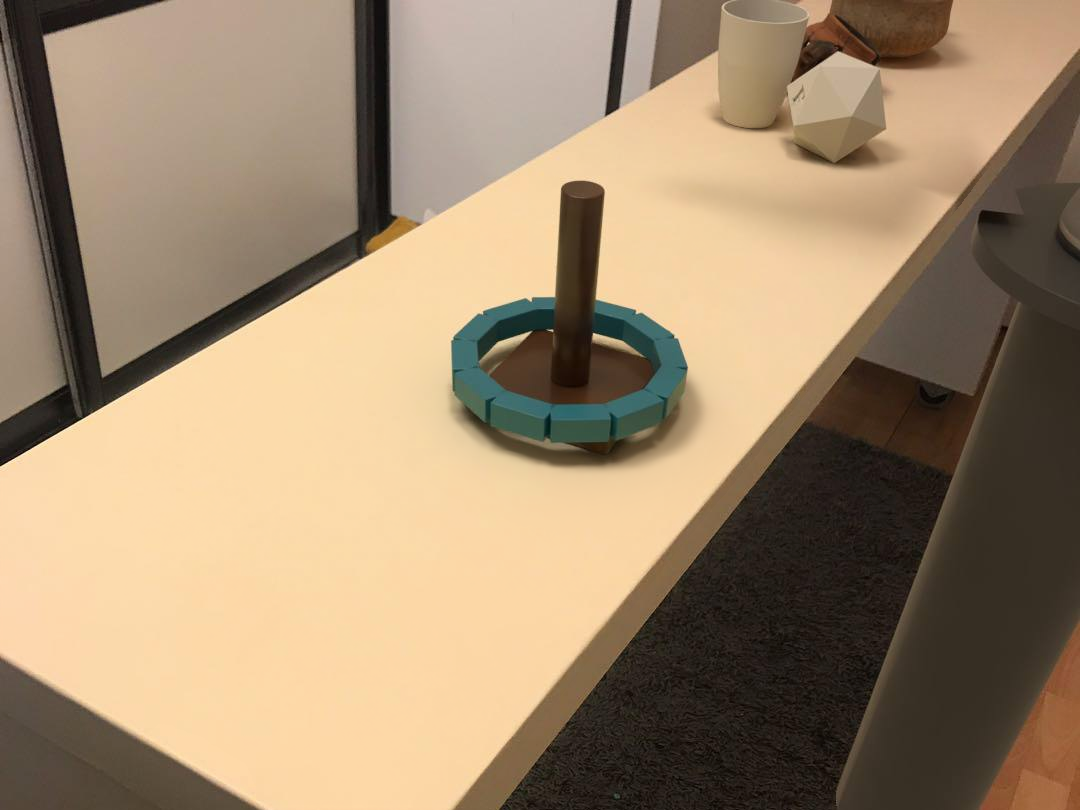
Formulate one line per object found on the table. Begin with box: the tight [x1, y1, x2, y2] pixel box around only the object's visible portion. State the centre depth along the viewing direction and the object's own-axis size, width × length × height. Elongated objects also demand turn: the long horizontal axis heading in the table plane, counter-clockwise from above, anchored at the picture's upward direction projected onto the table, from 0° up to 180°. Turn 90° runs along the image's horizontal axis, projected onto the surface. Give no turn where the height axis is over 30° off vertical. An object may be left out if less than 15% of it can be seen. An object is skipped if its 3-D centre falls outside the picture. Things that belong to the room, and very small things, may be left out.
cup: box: [717, 0, 810, 129], centre depth 102 cm, size 8×8×10 cm
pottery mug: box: [787, 12, 883, 95], centre depth 111 cm, size 12×10×8 cm
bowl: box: [828, 0, 954, 58], centre depth 123 cm, size 18×14×10 cm
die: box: [787, 51, 887, 164], centre depth 98 cm, size 8×9×10 cm
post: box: [471, 180, 655, 456], centre depth 62 cm, size 9×9×14 cm
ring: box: [450, 296, 689, 444], centre depth 65 cm, size 14×14×2 cm
